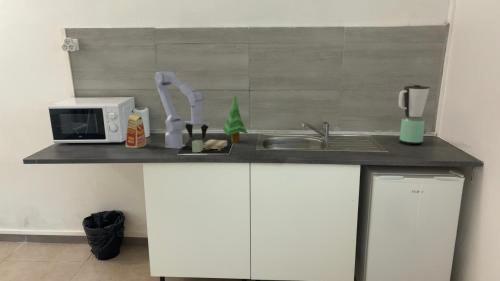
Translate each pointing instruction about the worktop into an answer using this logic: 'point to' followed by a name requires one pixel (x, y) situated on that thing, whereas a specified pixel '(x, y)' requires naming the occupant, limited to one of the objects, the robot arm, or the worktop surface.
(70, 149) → the worktop surface
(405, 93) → the mint green blender
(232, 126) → the decorative tree
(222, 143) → the beige irregular slab
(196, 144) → the green block
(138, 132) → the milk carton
